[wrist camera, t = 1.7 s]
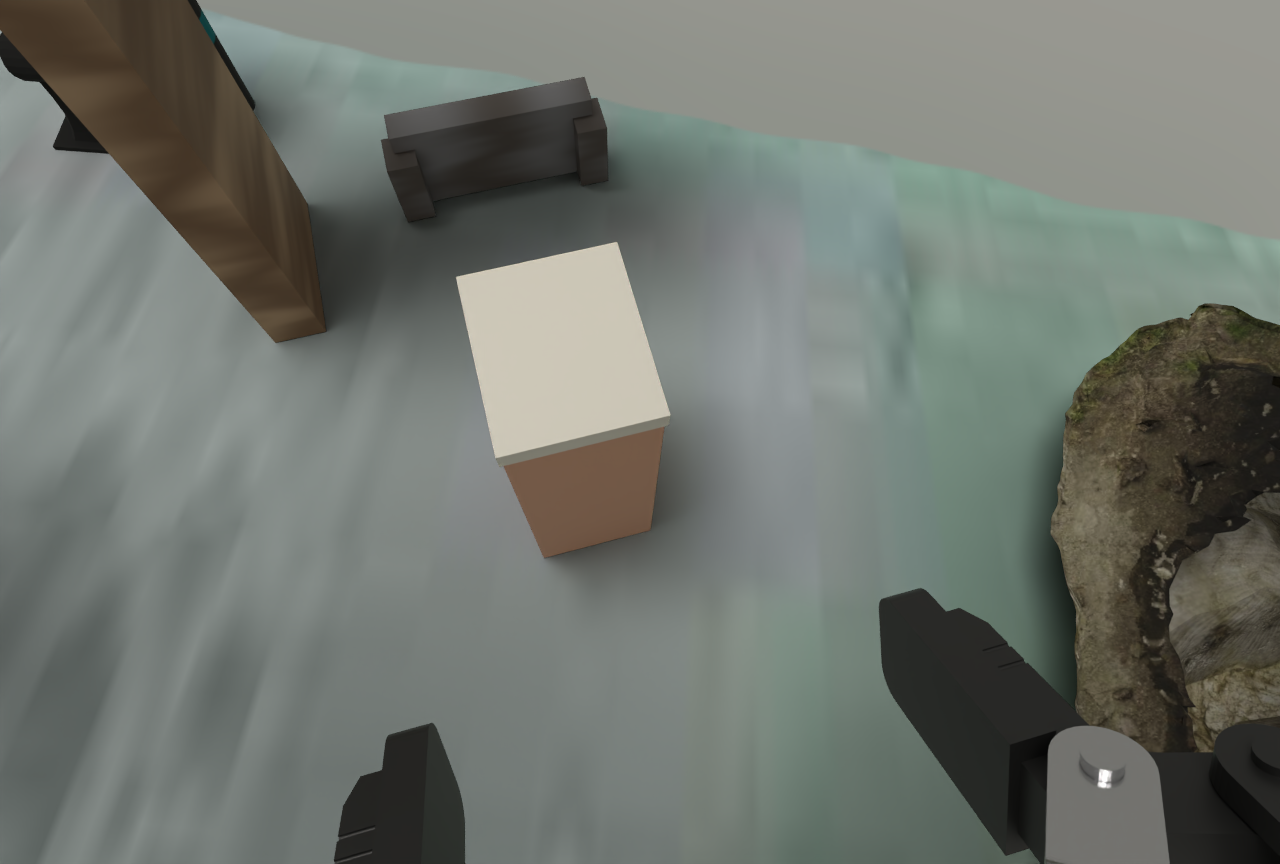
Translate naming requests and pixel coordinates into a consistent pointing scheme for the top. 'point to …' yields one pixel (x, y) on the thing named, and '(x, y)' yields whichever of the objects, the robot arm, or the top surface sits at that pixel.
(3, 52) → the surveillance camera
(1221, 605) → the hollow geode rock
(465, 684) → the top surface
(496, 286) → the tea tin
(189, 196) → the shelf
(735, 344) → the top surface
